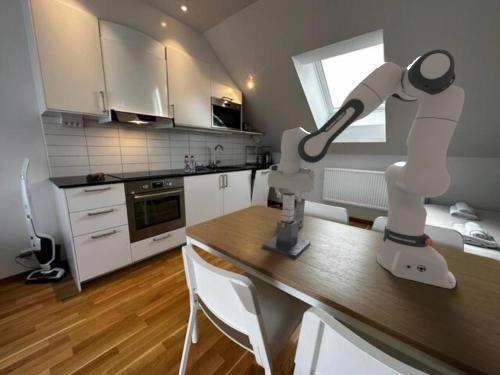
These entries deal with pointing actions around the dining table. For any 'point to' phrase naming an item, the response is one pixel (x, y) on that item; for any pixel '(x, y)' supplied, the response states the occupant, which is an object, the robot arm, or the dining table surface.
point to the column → (288, 207)
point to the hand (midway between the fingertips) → (288, 199)
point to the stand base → (287, 240)
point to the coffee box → (299, 211)
